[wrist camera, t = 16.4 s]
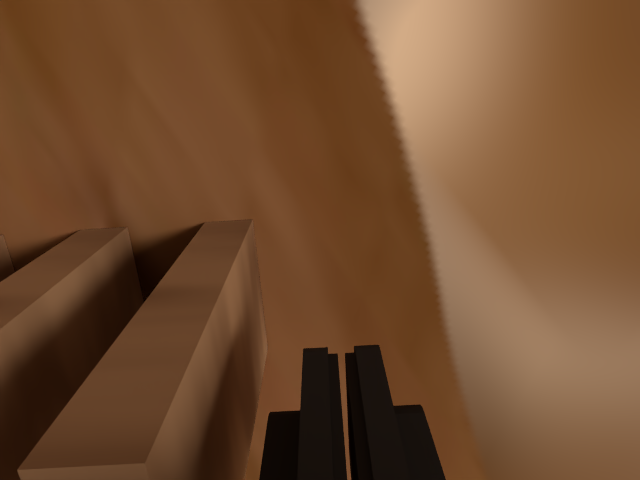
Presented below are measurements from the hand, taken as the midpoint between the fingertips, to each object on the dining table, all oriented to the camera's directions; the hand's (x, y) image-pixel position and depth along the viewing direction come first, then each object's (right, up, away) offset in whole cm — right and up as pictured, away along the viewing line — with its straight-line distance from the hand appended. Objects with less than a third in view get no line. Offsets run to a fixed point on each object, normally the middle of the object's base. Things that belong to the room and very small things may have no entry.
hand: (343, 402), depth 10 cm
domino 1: (-3, +2, +6) cm, 7 cm away
